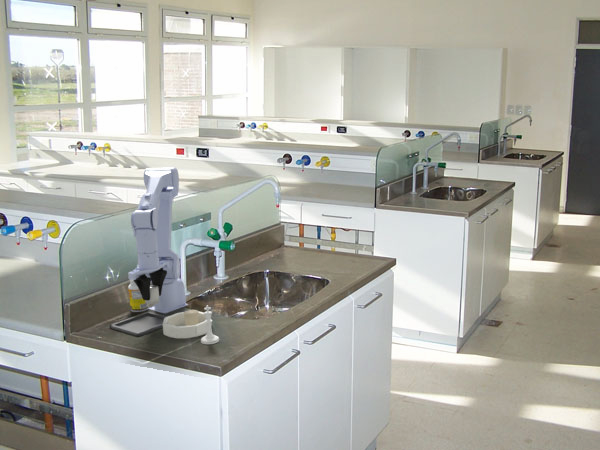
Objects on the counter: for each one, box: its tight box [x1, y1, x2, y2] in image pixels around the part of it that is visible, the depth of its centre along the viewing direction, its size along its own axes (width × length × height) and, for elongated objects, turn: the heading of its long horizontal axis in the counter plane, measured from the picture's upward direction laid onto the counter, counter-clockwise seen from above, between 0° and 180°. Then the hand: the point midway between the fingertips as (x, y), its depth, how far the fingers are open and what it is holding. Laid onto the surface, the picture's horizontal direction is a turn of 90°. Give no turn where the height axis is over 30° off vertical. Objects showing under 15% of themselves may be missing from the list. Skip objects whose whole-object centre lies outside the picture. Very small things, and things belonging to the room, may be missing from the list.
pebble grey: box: [145, 284, 160, 306], centre depth 204 cm, size 4×4×4 cm
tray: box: [109, 311, 168, 337], centre depth 206 cm, size 14×13×1 cm
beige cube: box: [183, 309, 199, 326], centre depth 201 cm, size 4×4×4 cm
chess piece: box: [200, 304, 220, 345], centre depth 190 cm, size 5×5×10 cm
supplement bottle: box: [127, 280, 150, 313], centre depth 219 cm, size 6×6×10 cm
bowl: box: [162, 310, 212, 339], centre depth 199 cm, size 13×13×4 cm
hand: (152, 297), depth 204 cm, fingers closed on pebble grey, 4 cm apart
